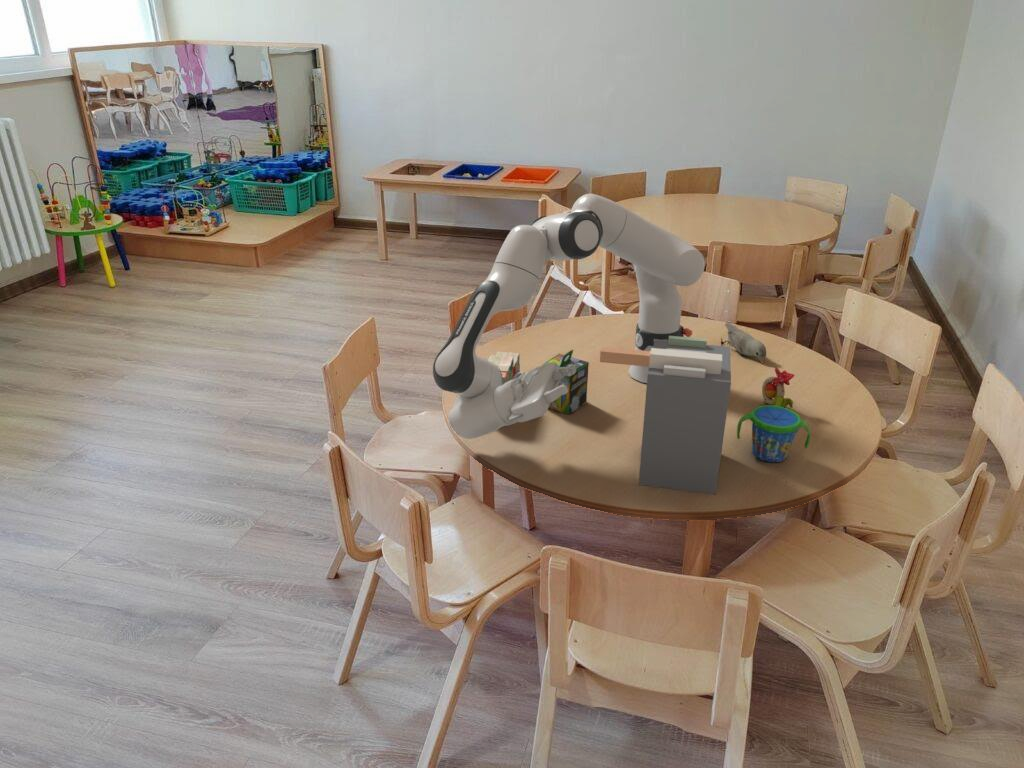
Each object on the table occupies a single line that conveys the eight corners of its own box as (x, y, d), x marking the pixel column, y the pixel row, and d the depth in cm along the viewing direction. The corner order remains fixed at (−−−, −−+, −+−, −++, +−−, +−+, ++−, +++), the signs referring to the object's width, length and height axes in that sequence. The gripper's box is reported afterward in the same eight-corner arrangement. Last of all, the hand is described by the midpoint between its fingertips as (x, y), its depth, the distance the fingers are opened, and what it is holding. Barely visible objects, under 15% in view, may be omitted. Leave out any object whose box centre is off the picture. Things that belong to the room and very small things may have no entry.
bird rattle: (756, 413, 198) (782, 414, 190) (749, 370, 197) (775, 369, 189) (774, 408, 200) (800, 409, 192) (767, 366, 199) (794, 365, 191)
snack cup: (806, 450, 177) (814, 411, 173) (804, 473, 168) (812, 433, 164) (736, 438, 182) (742, 399, 178) (731, 459, 173) (736, 420, 169)
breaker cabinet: (638, 484, 164) (648, 367, 152) (645, 442, 180) (655, 333, 168) (715, 494, 161) (732, 375, 149) (716, 451, 177) (731, 340, 165)
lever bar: (599, 362, 158) (600, 349, 156) (601, 356, 161) (602, 343, 159) (720, 374, 153) (722, 360, 151) (720, 368, 155) (722, 354, 154)
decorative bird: (756, 366, 219) (760, 341, 216) (716, 347, 232) (719, 323, 228) (770, 362, 222) (773, 338, 218) (729, 343, 234) (732, 320, 231)
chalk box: (557, 392, 204) (559, 340, 197) (587, 402, 199) (590, 349, 192) (538, 406, 197) (539, 352, 190) (569, 415, 192) (571, 361, 186)
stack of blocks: (497, 382, 210) (497, 340, 204) (520, 384, 209) (520, 342, 203) (480, 419, 191) (479, 374, 185) (505, 421, 190) (505, 376, 184)
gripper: (496, 411, 158) (554, 386, 153) (519, 370, 176) (571, 346, 171) (511, 436, 160) (569, 412, 155) (532, 392, 178) (585, 370, 172)
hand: (570, 378), depth 163 cm, fingers open, 8 cm apart
